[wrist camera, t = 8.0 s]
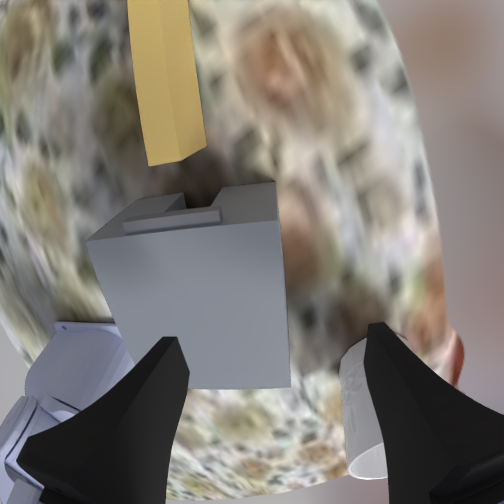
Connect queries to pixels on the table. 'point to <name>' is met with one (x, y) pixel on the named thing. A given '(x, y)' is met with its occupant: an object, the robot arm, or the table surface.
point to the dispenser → (201, 284)
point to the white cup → (361, 417)
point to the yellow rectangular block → (166, 79)
